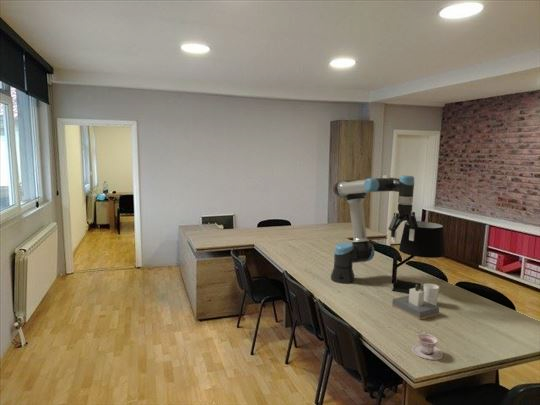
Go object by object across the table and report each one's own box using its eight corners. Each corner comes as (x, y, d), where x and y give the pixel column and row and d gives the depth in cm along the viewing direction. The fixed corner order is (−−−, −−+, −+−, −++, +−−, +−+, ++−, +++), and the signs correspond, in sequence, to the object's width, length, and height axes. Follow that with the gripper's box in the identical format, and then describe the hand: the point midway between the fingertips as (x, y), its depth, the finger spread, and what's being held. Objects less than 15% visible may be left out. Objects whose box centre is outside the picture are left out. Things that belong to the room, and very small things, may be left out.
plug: (408, 307, 195) (410, 283, 193) (413, 305, 197) (415, 282, 195) (417, 311, 190) (419, 287, 188) (422, 310, 192) (424, 286, 190)
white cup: (424, 299, 209) (426, 282, 208) (439, 303, 204) (441, 285, 203) (420, 303, 203) (421, 286, 201) (435, 307, 198) (436, 289, 197)
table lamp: (395, 278, 243) (399, 218, 237) (442, 286, 230) (447, 223, 225) (389, 291, 220) (393, 225, 214) (441, 300, 208) (447, 230, 202)
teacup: (410, 343, 160) (411, 329, 160) (440, 348, 157) (442, 334, 156) (412, 357, 149) (413, 343, 148) (444, 363, 146) (446, 348, 145)
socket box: (392, 306, 199) (392, 298, 198) (410, 301, 205) (411, 294, 204) (419, 319, 183) (420, 312, 182) (438, 314, 189) (439, 307, 189)
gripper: (393, 205, 194) (391, 245, 197) (426, 203, 205) (423, 241, 208) (383, 203, 201) (380, 242, 203) (415, 201, 212) (413, 238, 215)
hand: (402, 241), depth 206 cm, fingers open, 13 cm apart
